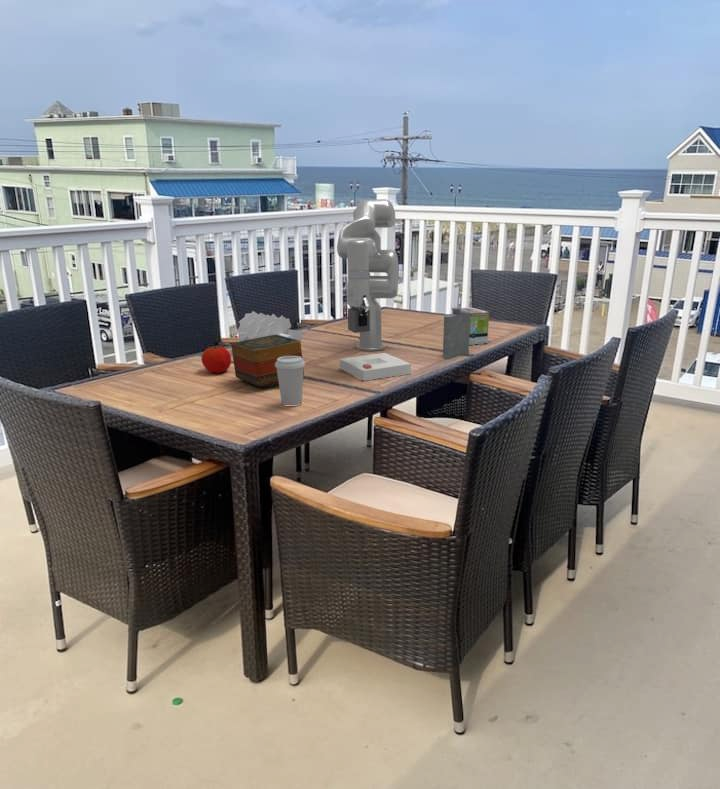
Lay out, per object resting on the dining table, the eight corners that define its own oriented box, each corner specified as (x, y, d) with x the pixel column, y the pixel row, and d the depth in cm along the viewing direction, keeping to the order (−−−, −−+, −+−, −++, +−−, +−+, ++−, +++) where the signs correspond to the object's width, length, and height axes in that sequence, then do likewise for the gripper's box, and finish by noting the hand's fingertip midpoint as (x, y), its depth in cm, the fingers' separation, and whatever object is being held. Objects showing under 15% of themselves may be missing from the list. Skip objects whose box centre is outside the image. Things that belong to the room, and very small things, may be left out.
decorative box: (307, 386, 218) (308, 341, 214) (248, 391, 207) (248, 342, 203) (284, 376, 235) (285, 333, 231) (229, 379, 224) (229, 335, 221)
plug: (348, 329, 227) (347, 308, 224) (362, 328, 229) (362, 307, 227) (355, 332, 221) (354, 311, 219) (369, 331, 224) (369, 309, 221)
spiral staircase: (282, 370, 252) (242, 358, 266) (309, 345, 261) (269, 335, 276) (267, 334, 240) (226, 324, 255) (295, 310, 249) (255, 301, 264)
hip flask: (447, 359, 249) (449, 311, 243) (439, 357, 252) (441, 309, 246) (469, 352, 260) (472, 306, 254) (462, 351, 263) (463, 305, 257)
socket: (340, 368, 237) (339, 356, 236) (384, 362, 246) (384, 350, 244) (363, 381, 220) (363, 368, 219) (410, 374, 229) (411, 361, 227)
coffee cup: (307, 398, 202) (305, 354, 197) (305, 408, 192) (304, 362, 188) (278, 399, 201) (276, 355, 197) (275, 408, 192) (272, 362, 188)
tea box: (488, 343, 276) (490, 311, 271) (469, 345, 272) (470, 313, 268) (470, 337, 289) (472, 306, 285) (452, 339, 286) (453, 307, 281)
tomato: (229, 366, 243) (227, 341, 240) (234, 374, 232) (232, 348, 229) (200, 369, 239) (198, 343, 236) (204, 377, 228) (202, 350, 225)
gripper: (338, 273, 225) (340, 321, 230) (359, 278, 210) (360, 329, 216) (357, 271, 228) (357, 319, 234) (378, 277, 213) (378, 327, 219)
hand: (358, 323), depth 225 cm, fingers closed on plug, 6 cm apart
